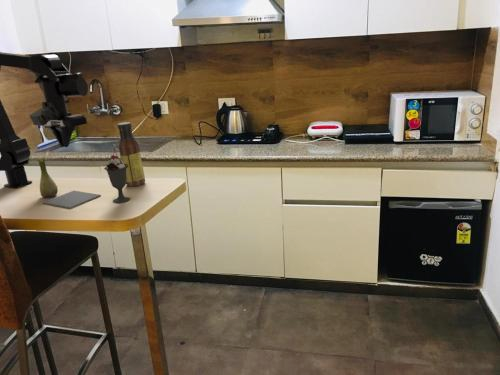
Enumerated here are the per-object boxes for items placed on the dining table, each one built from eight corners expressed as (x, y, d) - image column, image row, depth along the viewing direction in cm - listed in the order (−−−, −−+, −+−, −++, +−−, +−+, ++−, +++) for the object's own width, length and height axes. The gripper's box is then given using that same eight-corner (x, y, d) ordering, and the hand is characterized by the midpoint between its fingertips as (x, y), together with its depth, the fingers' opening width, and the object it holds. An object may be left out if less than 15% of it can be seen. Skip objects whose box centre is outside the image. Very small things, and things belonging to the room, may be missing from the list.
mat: (42, 203, 125) (42, 202, 125) (73, 191, 134) (73, 190, 134) (70, 208, 119) (70, 207, 119) (100, 196, 128) (100, 194, 128)
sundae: (126, 194, 128) (118, 145, 123) (137, 199, 123) (130, 148, 118) (105, 201, 124) (96, 150, 119) (116, 206, 119) (107, 153, 114)
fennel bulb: (47, 193, 134) (38, 156, 130) (62, 192, 134) (54, 155, 130) (37, 199, 129) (28, 161, 125) (53, 199, 128) (45, 160, 124)
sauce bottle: (147, 180, 140) (138, 120, 134) (143, 186, 134) (134, 124, 128) (127, 182, 140) (117, 121, 134) (122, 188, 134) (112, 125, 128)
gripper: (11, 100, 129) (23, 150, 134) (52, 101, 120) (63, 155, 125) (44, 95, 138) (53, 143, 143) (83, 96, 129) (92, 146, 134)
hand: (64, 146), depth 136 cm, fingers closed
